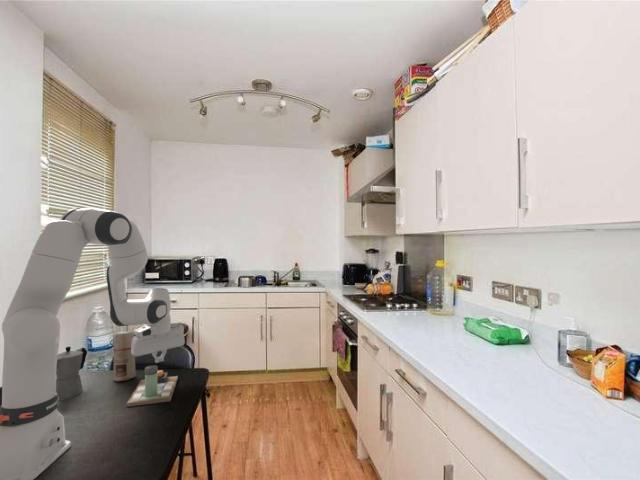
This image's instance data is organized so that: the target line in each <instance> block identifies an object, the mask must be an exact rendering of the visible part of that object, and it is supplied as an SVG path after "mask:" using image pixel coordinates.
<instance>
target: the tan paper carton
mask: <svg viewBox="0 0 640 480" xmlns="http://www.w3.org/2000/svg"><path fill="white" fill-rule="evenodd" d="M134 336H135V335H134V331H132V330H131V331H130V330H129V331H117V332H115V334H114V335H113V343H112V344H113V346H112V350H113V382H123V381H128V380H131V379H134V378H135V377H136V376H137V375H136V356H134V355H132V354H131V344H132V339H133V337H134Z"/></svg>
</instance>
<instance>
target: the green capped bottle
mask: <svg viewBox="0 0 640 480" xmlns="http://www.w3.org/2000/svg"><path fill="white" fill-rule="evenodd" d="M157 372H158V365H155V364H154V365H147V366H145V367H144V380H145V397H154V396H156V395H157Z"/></svg>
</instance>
